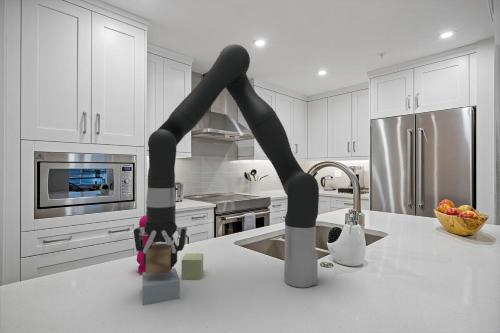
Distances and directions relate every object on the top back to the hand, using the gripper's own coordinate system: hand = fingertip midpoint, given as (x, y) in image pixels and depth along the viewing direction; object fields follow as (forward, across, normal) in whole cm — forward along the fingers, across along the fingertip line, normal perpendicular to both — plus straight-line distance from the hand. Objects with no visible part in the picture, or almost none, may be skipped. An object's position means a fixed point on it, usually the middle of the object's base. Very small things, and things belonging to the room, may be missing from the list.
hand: (160, 265), depth 72 cm
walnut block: (+1, 0, 0) cm, 1 cm away
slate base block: (+8, 0, 0) cm, 8 cm away
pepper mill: (+8, +8, -16) cm, 19 cm away
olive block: (+8, -7, -12) cm, 16 cm away
